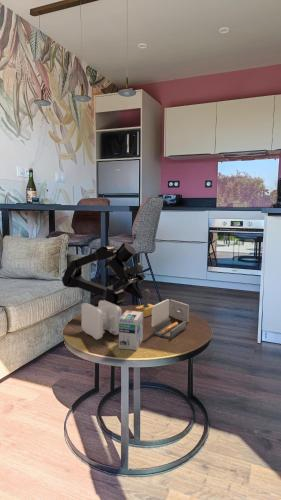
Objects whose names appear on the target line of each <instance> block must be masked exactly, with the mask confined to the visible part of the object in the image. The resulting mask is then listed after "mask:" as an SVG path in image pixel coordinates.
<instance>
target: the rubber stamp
mask: <svg viewBox="0 0 281 500" xmlns="http://www.w3.org/2000/svg"><path fill="white" fill-rule="evenodd" d="M150 297H151V291H150V290H149V289H148V288H146V289H144V290H143V291H142V298H143V300H144V304H142V305H138V306H136V307H134V311H136V312H143V318H147V317H149V316H150V317H151V316H152V306H154V305H155V304H151V303H149V299H150Z"/></svg>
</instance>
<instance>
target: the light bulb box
mask: <svg viewBox="0 0 281 500" xmlns="http://www.w3.org/2000/svg"><path fill="white" fill-rule="evenodd" d="M143 332H144V317H143V312H136V311H135V310H125V312H123V313H122V316H121V317H120V318H119V334H118V349H122V350H123V349H125V350H132V351H137V350H138V349H139V347H140V345H141V344H142V342H143V337H144V335H143V334H144V333H143Z"/></svg>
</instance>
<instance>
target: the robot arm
mask: <svg viewBox="0 0 281 500" xmlns="http://www.w3.org/2000/svg"><path fill="white" fill-rule="evenodd" d="M135 254H137V252H136V249H135V248H134V247H133V246H132V245H130V244H128V243H127V242H123V243H122V244H121V245H120V246H119V248H115V247H114V246H113V245H103V246H100V247H99V248H97V249H95V251H93V252H92V253H89V254H87V255H84V256H82V257H80V258H78V259H74V260H73V259H72V260H71V261H70V263H69V266H68V267H67V269H66V270H65V271H64V273H63V276H62V278H61V281H62V285H63V286H64V287H67V288H73V289H74V288H77V289H80V290H84V291H85V292H89V293H91V294H95V295H97V296H100V297H102V298H103V300H106V301H108V302H110V303H113V304H115V305H117V306H119V307H120V308H121V305H123V303H124V301H125V299H126V298H127V295H126V293H127V294H130V295H131V296H134V297H136V298H138V299H139V300H141V299H142V298H143V293H142V291H141V288H140V284H141V283H142V282H143V281H144V280H145V279H146V277H147V276H146V275H145V274H144V273H142V272H143V271H144V270H143V269H144V266H143V265H142V264H141V262H138V263H135V264H134V265H133V266H131V267H130V266H126V265H125V263H128V262H129V261H130V260H131V259H132V258H133V257H134V256H135ZM103 260H108V261H105V264H104V268H105V269H107V268H108V269H109V268H110V270H112V273H114V278H115V279H116V278H117V279H118V280H117V281H116V282H115V283H114V284H113V285H109V286H104V285H102V284H99V283H96V282H93V281H90V280H88V279H85V278H84V277H83V276H82V274H83V271H82V270H83V269H82V268H83V267H84V266H88V265H89V264H92V263H95V262H98V261H103ZM122 287H124V289H123V288H122Z"/></svg>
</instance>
